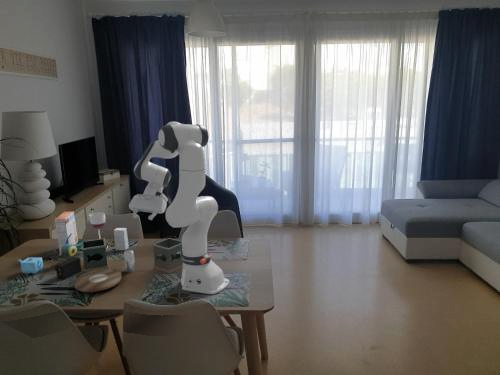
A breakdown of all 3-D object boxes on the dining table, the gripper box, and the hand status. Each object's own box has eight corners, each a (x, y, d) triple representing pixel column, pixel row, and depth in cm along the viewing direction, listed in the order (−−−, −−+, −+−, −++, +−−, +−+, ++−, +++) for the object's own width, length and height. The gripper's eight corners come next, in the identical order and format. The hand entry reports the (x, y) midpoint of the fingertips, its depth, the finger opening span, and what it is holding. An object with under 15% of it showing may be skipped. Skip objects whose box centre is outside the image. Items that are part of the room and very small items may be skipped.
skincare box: (128, 247, 212) (127, 227, 209) (125, 250, 208) (123, 230, 205) (118, 247, 213) (116, 227, 210) (115, 250, 209) (113, 230, 206)
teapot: (15, 275, 180) (13, 260, 178) (23, 269, 186) (20, 255, 184) (39, 274, 180) (37, 260, 178) (46, 269, 186) (44, 255, 184)
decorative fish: (68, 264, 196) (77, 265, 194) (53, 254, 186) (63, 256, 184) (78, 242, 203) (87, 243, 201) (65, 232, 193) (74, 232, 191)
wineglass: (105, 250, 209) (101, 216, 205) (90, 250, 209) (86, 216, 205) (111, 244, 217) (107, 212, 213) (96, 244, 217) (92, 212, 213)
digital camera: (74, 269, 185) (72, 256, 184) (81, 271, 183) (80, 257, 182) (55, 278, 176) (53, 264, 175) (63, 280, 174) (61, 266, 172)
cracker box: (68, 245, 217) (63, 211, 212) (78, 245, 217) (74, 211, 213) (58, 255, 203) (53, 218, 198) (70, 254, 204) (65, 218, 199)
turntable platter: (131, 276, 172) (130, 273, 172) (94, 296, 155) (94, 292, 155) (102, 268, 182) (101, 265, 182) (64, 285, 165) (64, 282, 165)
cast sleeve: (137, 269, 183) (135, 250, 181) (130, 273, 180) (128, 254, 177) (130, 267, 185) (129, 249, 183) (123, 271, 182) (121, 252, 179)
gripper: (132, 190, 196) (121, 213, 190) (165, 193, 190) (156, 217, 183) (138, 196, 202) (128, 219, 195) (170, 200, 195) (161, 223, 188)
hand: (142, 218), depth 189 cm, fingers open, 8 cm apart
